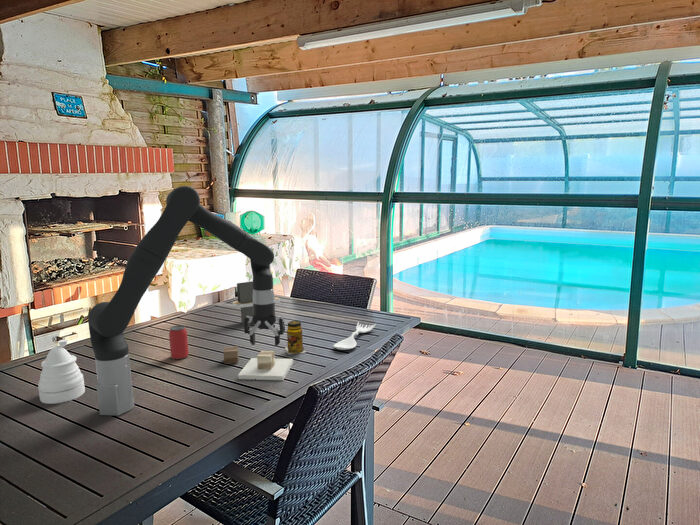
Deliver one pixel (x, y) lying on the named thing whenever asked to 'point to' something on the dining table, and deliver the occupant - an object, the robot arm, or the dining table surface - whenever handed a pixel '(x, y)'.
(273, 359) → the birch cube
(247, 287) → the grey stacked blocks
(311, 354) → the dining table surface
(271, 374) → the stone board
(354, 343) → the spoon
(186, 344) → the beer can
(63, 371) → the honey pot
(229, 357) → the walnut cube
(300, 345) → the condiment
